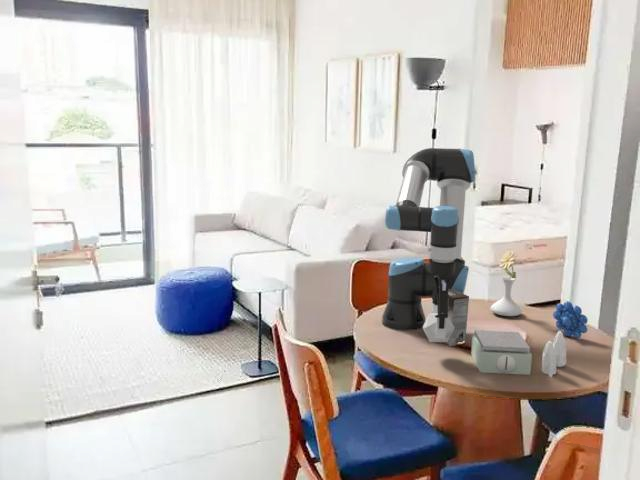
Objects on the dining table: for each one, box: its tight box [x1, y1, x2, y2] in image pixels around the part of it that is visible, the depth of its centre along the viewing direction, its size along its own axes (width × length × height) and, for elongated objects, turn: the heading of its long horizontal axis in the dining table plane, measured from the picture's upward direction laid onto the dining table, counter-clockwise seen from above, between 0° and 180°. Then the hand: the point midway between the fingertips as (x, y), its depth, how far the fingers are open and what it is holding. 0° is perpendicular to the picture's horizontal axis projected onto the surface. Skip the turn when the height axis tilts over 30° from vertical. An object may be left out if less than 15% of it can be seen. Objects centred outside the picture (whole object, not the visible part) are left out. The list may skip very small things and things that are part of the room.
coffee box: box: [443, 289, 470, 347], centre depth 192 cm, size 9×6×16 cm
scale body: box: [470, 334, 533, 376], centre depth 174 cm, size 15×14×7 cm
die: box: [421, 312, 454, 343], centre depth 178 cm, size 8×9×10 cm
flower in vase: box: [489, 250, 523, 317], centre depth 218 cm, size 13×11×25 cm
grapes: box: [552, 300, 588, 339], centre depth 197 cm, size 12×7×12 cm, turn 45°
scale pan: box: [474, 329, 531, 353], centre depth 173 cm, size 13×13×1 cm
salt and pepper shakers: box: [541, 330, 567, 378], centre depth 171 cm, size 12×4×11 cm, turn 136°
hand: (438, 331), depth 178 cm, fingers closed on die, 10 cm apart
